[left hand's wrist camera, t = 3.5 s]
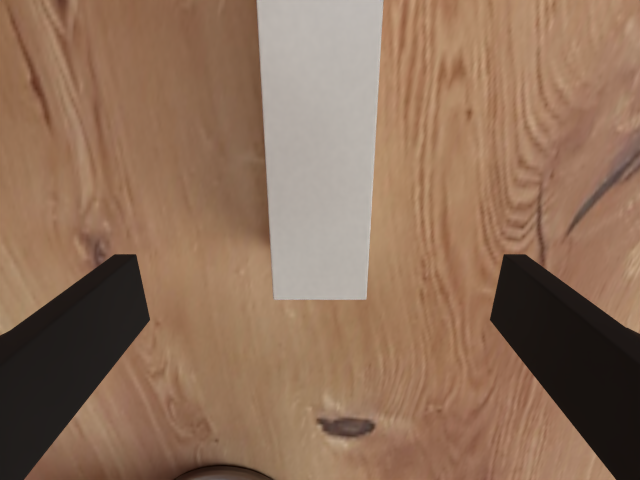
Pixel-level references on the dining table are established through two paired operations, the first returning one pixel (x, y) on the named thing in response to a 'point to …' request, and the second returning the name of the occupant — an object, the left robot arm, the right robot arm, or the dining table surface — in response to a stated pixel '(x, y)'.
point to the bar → (319, 142)
